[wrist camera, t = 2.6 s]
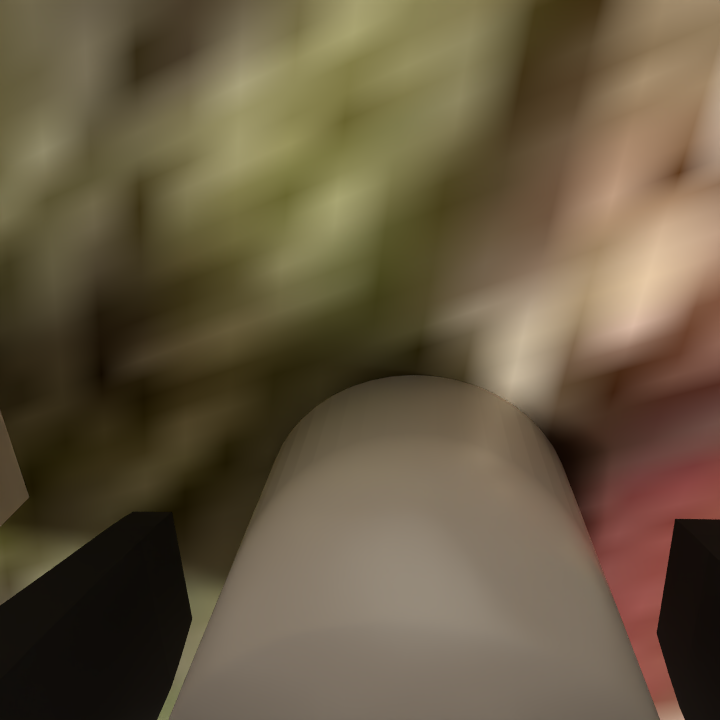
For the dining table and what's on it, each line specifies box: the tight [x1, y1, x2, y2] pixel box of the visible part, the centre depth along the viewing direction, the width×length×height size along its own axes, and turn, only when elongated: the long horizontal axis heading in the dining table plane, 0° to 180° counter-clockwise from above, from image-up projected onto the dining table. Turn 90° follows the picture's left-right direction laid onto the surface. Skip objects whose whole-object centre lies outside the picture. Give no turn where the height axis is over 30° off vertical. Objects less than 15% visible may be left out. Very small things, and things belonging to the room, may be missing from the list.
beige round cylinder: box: [169, 375, 660, 720], centre depth 8 cm, size 5×5×5 cm
